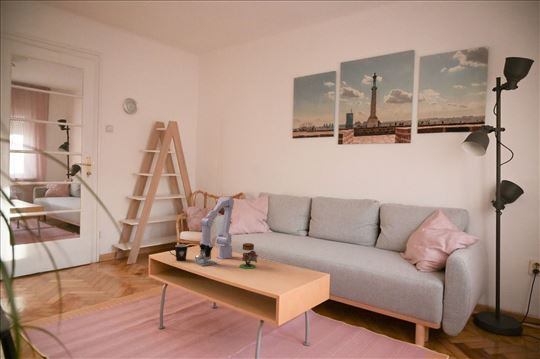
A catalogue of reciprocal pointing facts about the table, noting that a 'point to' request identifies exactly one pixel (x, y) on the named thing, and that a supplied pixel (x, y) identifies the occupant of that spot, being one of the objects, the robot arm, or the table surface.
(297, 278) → the table surface
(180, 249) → the coffee mug
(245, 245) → the miniature tree model
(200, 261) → the panel
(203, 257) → the elbow
